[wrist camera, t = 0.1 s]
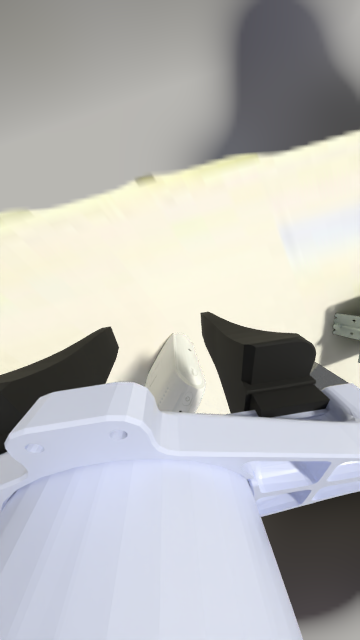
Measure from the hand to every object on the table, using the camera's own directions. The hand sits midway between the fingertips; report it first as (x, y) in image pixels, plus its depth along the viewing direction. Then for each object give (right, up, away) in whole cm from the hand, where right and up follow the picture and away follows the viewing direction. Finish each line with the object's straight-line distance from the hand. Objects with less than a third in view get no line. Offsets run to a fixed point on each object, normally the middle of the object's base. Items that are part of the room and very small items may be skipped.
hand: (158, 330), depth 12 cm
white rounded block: (0, -6, +13) cm, 14 cm away
